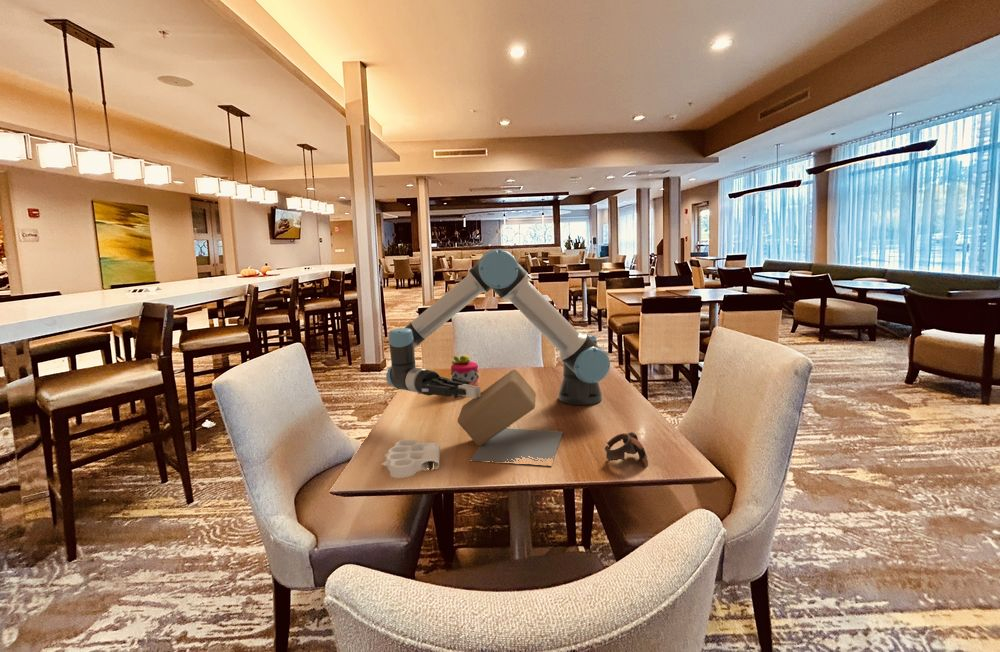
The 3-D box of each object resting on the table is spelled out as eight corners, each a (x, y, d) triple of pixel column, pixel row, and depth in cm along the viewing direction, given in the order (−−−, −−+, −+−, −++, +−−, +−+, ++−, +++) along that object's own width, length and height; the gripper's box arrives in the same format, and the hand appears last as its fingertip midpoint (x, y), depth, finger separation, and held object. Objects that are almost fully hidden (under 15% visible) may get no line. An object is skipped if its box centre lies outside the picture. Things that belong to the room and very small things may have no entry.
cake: (453, 388, 200) (452, 351, 198) (480, 388, 200) (478, 350, 198) (450, 396, 190) (448, 357, 188) (478, 395, 190) (476, 356, 187)
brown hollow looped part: (649, 474, 120) (631, 447, 119) (614, 484, 125) (597, 458, 124) (654, 444, 130) (638, 419, 129) (622, 454, 135) (606, 429, 134)
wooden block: (483, 431, 148) (537, 393, 143) (478, 448, 139) (536, 408, 134) (461, 405, 147) (515, 366, 142) (455, 421, 137) (512, 380, 132)
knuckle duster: (439, 476, 123) (377, 481, 122) (440, 448, 141) (386, 452, 139) (438, 463, 123) (376, 468, 121) (439, 436, 140) (385, 440, 139)
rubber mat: (563, 432, 148) (563, 431, 148) (551, 466, 125) (551, 465, 125) (493, 429, 153) (493, 427, 153) (470, 461, 130) (470, 459, 130)
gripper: (442, 387, 161) (495, 399, 145) (406, 399, 151) (459, 412, 135) (440, 364, 160) (493, 373, 144) (403, 374, 150) (457, 385, 134)
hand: (477, 392), depth 139 cm, fingers closed
